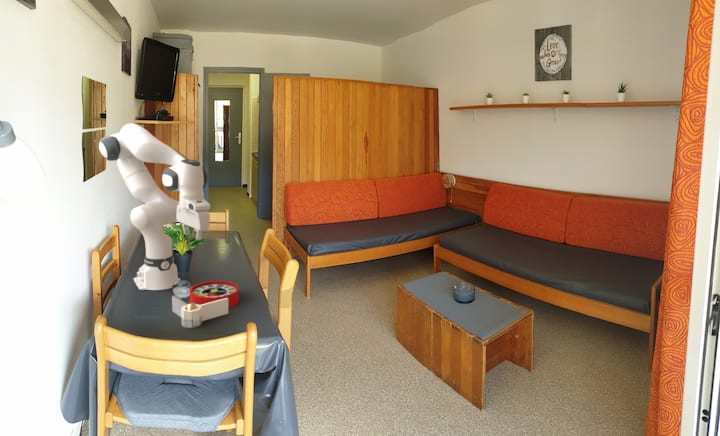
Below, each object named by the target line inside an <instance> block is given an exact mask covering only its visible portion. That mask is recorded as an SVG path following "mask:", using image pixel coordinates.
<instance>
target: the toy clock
mask: <svg viewBox="0 0 720 436" xmlns="http://www.w3.org/2000/svg"><path fill="white" fill-rule="evenodd" d="M239 290H240V288H239V285H237V284H236V283H234V282H230V281H227V280H226V281H225V280H210V281H203V282H201V283H197V284H194V285H193V286H191V287H190V289H189V303H192V302H193V303H196V304H199V305H202V304H205V303H209V302H213V301H216V300H220V299H224V298H228V309H231V308H233V307H234V306H236V305H237V304H238V303H239V299H240V298H239Z"/></svg>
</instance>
